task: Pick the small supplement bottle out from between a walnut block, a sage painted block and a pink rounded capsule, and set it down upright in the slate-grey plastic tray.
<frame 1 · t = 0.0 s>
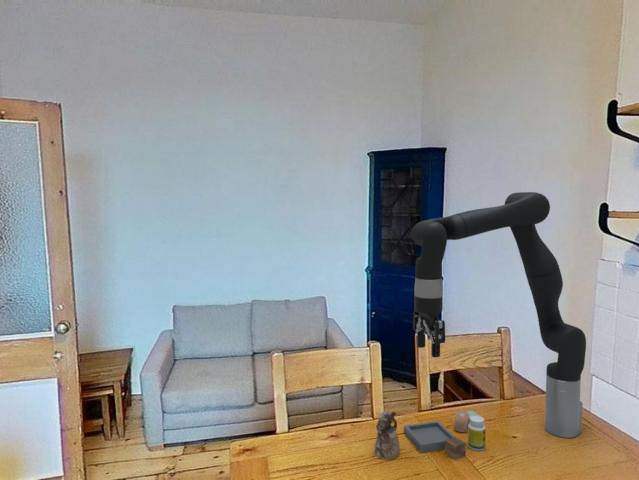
hand: (428, 351, 129), 29 cm above the table, fingers open, 8 cm apart
pink rounded capsule: (460, 429, 144), on the table, tilted 9°
supplement bottle: (476, 447, 135), on the table
sage block: (471, 427, 146), on the table
walnut block: (455, 454, 131), on the table
tray: (430, 439, 139), on the table
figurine: (386, 453, 132), on the table
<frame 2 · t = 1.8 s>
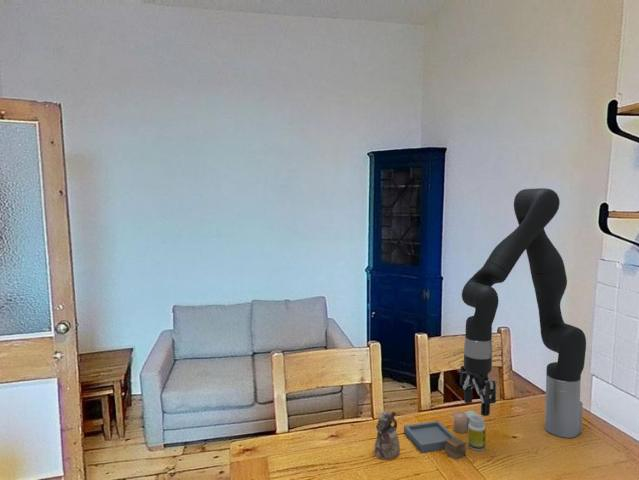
hand: (476, 408, 134), 11 cm above the table, fingers open, 8 cm apart
pink rounded capsule: (460, 430, 144), on the table
everything else where it was.
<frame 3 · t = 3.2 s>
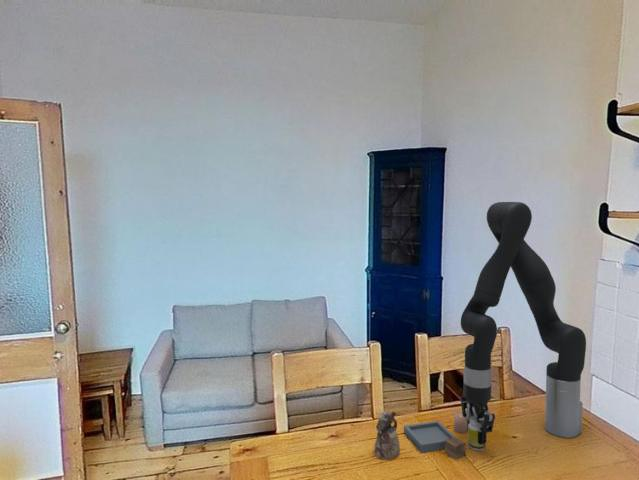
hand: (476, 438, 135), 2 cm above the table, fingers closed on supplement bottle, 4 cm apart
supplement bottle: (476, 447, 135), on the table, touching gripper
everything else where it was.
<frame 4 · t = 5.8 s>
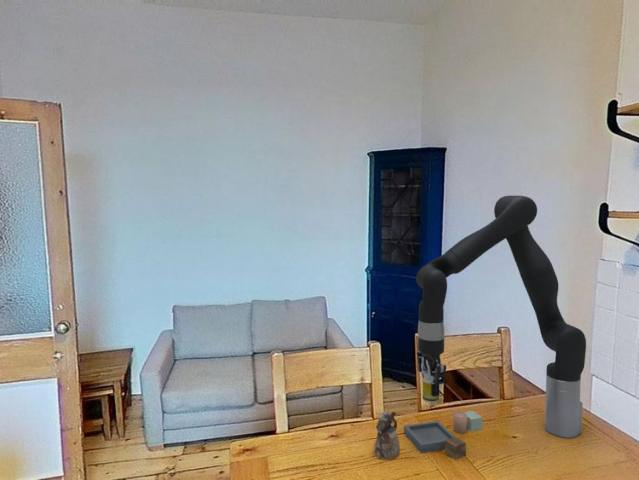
hand: (430, 391, 138), 15 cm above the table, fingers closed on supplement bottle, 4 cm apart
supplement bottle: (430, 400, 138), point 12 cm above the table, touching gripper
everything else where it was.
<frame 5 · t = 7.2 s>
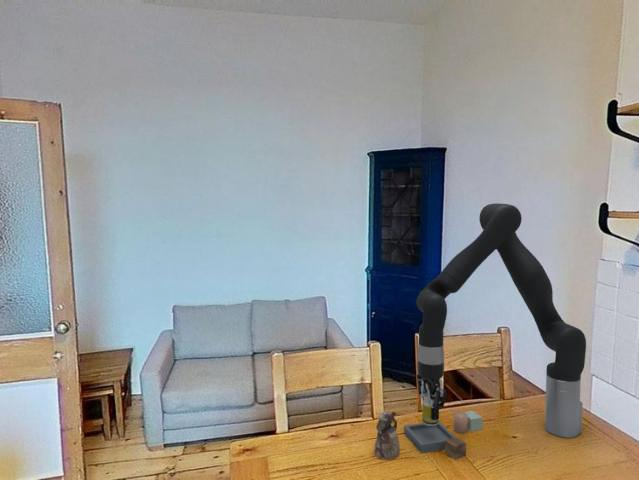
hand: (430, 414, 138), 8 cm above the table, fingers closed on supplement bottle, 4 cm apart
supplement bottle: (430, 423, 138), point 5 cm above the table, touching gripper
everything else where it was.
when the fingers open (4 cm above the table, at t = 8.5 s): supplement bottle stays where it is, resting on tray.
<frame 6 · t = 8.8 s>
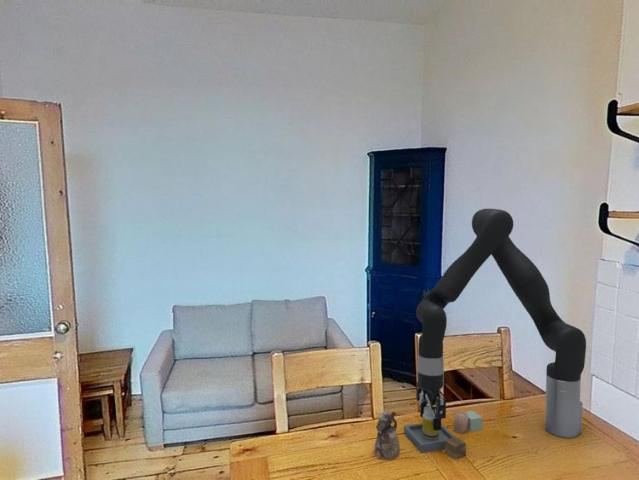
hand: (430, 423, 138), 5 cm above the table, fingers open, 7 cm apart
supplement bottle: (430, 436, 139), point 1 cm above the table, touching tray
everything else where it was.
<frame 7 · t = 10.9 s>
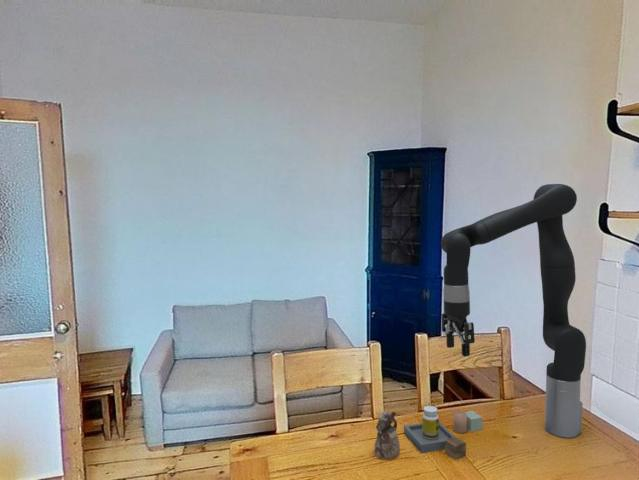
hand: (457, 351, 141), 25 cm above the table, fingers open, 8 cm apart
nothing on the table moved.
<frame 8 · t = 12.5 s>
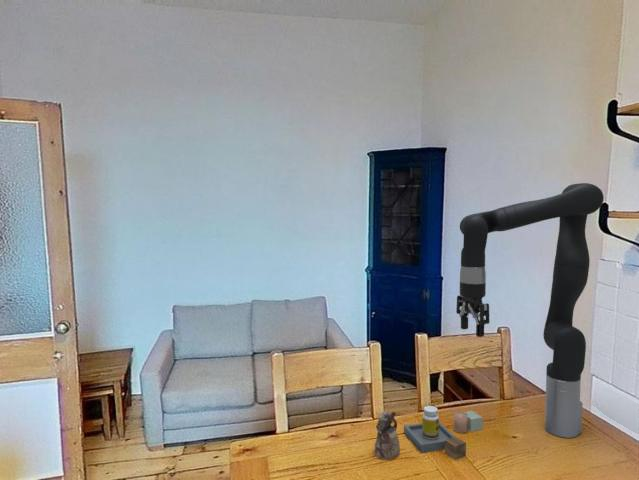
hand: (471, 332, 144), 30 cm above the table, fingers open, 8 cm apart
nothing on the table moved.
at the end: supplement bottle inside the target area on the tray (0.1 cm from its centre), point 1.0 cm above the tray's base; supplement bottle tilted 0°; the gripper is holding nothing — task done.
